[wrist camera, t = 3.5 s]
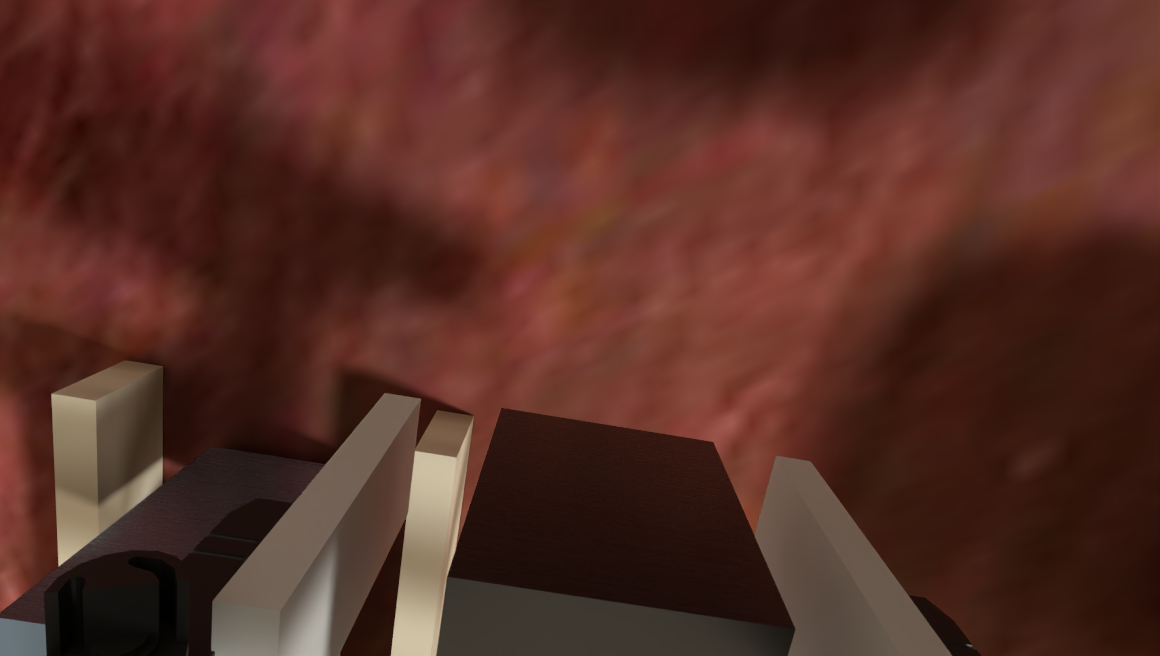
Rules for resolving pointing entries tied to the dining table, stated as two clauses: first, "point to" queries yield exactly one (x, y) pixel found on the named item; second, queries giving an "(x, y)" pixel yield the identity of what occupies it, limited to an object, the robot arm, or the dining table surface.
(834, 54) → the dining table surface
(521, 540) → the hammer
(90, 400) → the beige open frame
